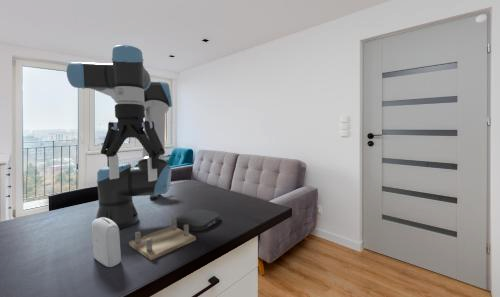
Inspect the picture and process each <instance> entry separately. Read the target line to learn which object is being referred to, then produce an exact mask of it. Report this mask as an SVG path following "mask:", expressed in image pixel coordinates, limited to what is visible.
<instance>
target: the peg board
mask: <svg viewBox="0 0 500 297" xmlns="http://www.w3.org/2000/svg"><path fill="white" fill-rule="evenodd" d="M141 233H142V232H141V231H135V232H134V239H132V240H129V241H128V246H130V247H131V248H132V249H134V250H135V251H137V252H138V253H139V254H141V255H143V256H144V257H146V258H147V259H148V260H150V261H152V260H153V261H154V260H155V259H157V258H159V257H162V256H164V255H166V254H169V253H171V252H173V251H175V250H177V249H179V248H181V247H184V246H185V245H188V244H191V243H193V242H195V241H197V236H195V235H193V234H191V233H190V230H189V225H188V224H186V225H184V228H183V229H182V228H180V227H177V220H176V218H173V219H172V220H171V225H170V226H168V227H166V228H162V229H160V230H157V231H154V232H151V233H149V234H146V235H143V236H142V235H141Z"/></svg>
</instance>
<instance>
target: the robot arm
mask: <svg viewBox="0 0 500 297" xmlns="http://www.w3.org/2000/svg"><path fill="white" fill-rule="evenodd" d="M111 54H112V55H111V61H112V63H99V62H84V61H79V62H78V61H77V62H76V61H75V62H74V61H73V62H70V63H68V64H67V67H66V77H67V80H68V83H69V84H70V85H71V86H72V87H73V88H75V89H76V88H77V89H83V90H84V89H91V90H93V91H97V92H98V93H101V94H103V95H107V96H109V97H110V98H111V99H112V100H114V102H115V105H114V117H115V118H116V119H117V122H116V121H115V122H113V121H109V122H108V125H107V131H106V135H105V137H104V141H103V144H102V147H101V149H100V154H101V155H105V157H106V158H107V166H105V167H104V166H103V167H102V168H100V169H98V171H97V173H96V174H97V176H96V177H97V180H96V183H97V184H96V185H97V196H98V210H97V212H96V216H95V219H98V218H101V217H105V218H108V219H110V220H112V221H113V222H115V223H116V225H117V226H118V228H119V230H121V229H126V228H128V227H131V226H133V225H134V224H136V223H137V222H138V221H139V213H138V210H137V209H136V206H135V204H134V201H133V197H143V196H144V197H145V196H147V197H148V196H150V195H158V196H160V195H159V194H161V195H165V194H167V193H168V192H169V190H170V188H169V187H170V185H171V184H170V183H171V182H172V181H171V180H172V166H171V165H169V164H168V163H169V162H168V161H167V160H166V159H165V153H166V151H165V138H166V137H165V136H166V134H165V132H166V131H165V130H166V113H168V112H169V108H172V107H173V101H172V96H171V89H170V84H169V83H168V82H165V81H151V80H152V79H151V76H150V73H149V72H148V70H146V68H145V66H144V59H143V52H142V50H141V49H140V48H138V47H136V46H133V45H128V44H118V45H115V46H113V48H112V53H111ZM129 138H133V139H134V138H135V139H137V140H138V142H139V143H140V145H141V146H142V157H141V159H140V160H138V161H137V166H132V164H131V163H130V162H129V163H128V162H127V163H119V155H118V152H119V150H120V149H121V147H122V146H123V144H124V142H125V140H127V139H129Z"/></svg>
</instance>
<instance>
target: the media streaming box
mask: <svg viewBox="0 0 500 297" xmlns="http://www.w3.org/2000/svg"><path fill="white" fill-rule="evenodd" d="M175 219H176V220H177V228H179V229H184V225H186V224H188V225H189V231H194V232H200V231H205V230H207V229H209V228H210V227H212V226H214V225H215V224H217V223H218V222H220V214H219V213H217V212H215V211H211V210H208V209H194V210H190V211H186V212H183V213H182V214H180V215H179V216H177V217H176V218H175Z"/></svg>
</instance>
